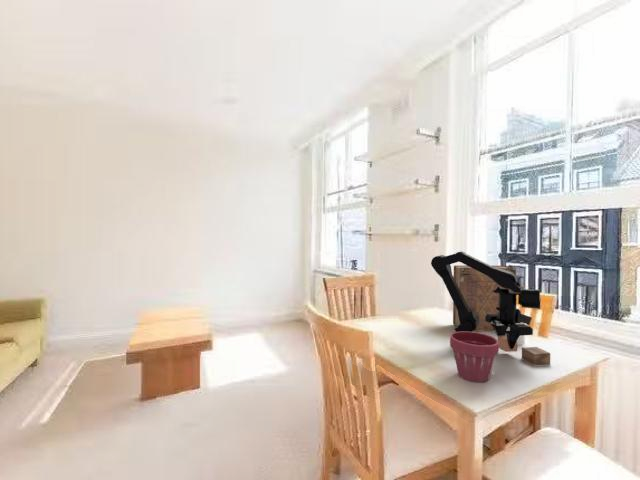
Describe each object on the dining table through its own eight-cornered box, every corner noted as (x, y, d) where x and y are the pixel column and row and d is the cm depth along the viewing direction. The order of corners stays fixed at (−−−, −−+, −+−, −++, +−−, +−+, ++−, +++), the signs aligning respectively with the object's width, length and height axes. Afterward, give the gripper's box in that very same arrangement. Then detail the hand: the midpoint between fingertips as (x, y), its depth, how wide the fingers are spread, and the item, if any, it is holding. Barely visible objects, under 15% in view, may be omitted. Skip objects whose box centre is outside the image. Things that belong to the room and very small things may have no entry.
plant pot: (506, 378, 103) (507, 339, 102) (484, 391, 95) (484, 348, 94) (464, 363, 115) (464, 328, 114) (441, 374, 106) (441, 336, 106)
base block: (534, 365, 111) (534, 354, 111) (521, 358, 117) (521, 347, 117) (550, 364, 112) (550, 353, 112) (536, 357, 118) (536, 346, 118)
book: (459, 330, 152) (459, 267, 151) (452, 324, 161) (453, 265, 160) (515, 331, 149) (516, 267, 148) (505, 325, 158) (506, 265, 157)
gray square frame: (533, 368, 110) (533, 366, 110) (517, 358, 118) (517, 357, 118) (555, 366, 111) (555, 365, 111) (537, 357, 119) (537, 356, 119)
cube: (505, 351, 118) (505, 339, 118) (497, 347, 123) (497, 335, 123) (517, 351, 119) (517, 339, 119) (508, 346, 123) (508, 335, 123)
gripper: (547, 310, 112) (546, 354, 112) (510, 299, 130) (509, 337, 131) (517, 312, 111) (517, 356, 111) (484, 300, 129) (484, 338, 130)
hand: (507, 346), depth 121 cm, fingers closed on cube, 4 cm apart
